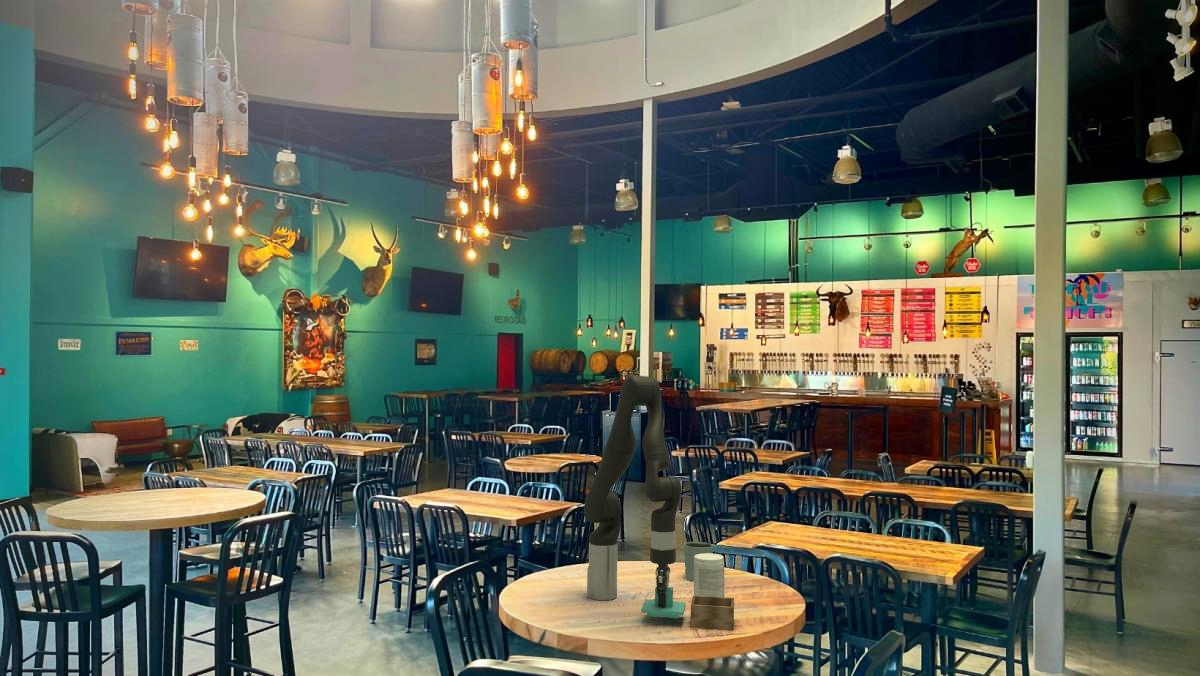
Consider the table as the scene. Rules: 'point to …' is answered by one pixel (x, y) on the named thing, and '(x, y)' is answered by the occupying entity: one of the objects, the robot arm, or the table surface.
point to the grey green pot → (691, 551)
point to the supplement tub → (709, 575)
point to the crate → (712, 612)
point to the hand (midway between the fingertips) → (662, 605)
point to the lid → (670, 610)
